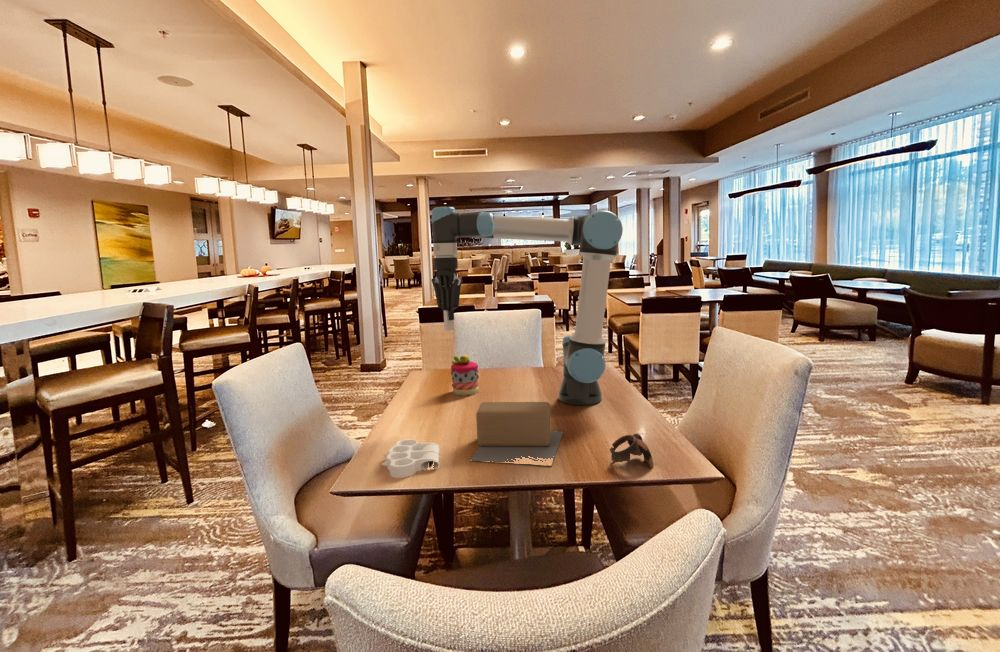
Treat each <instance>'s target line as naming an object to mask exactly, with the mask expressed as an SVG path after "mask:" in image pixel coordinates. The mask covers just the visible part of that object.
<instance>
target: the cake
mask: <svg viewBox="0 0 1000 652" xmlns="http://www.w3.org/2000/svg"><path fill="white" fill-rule="evenodd" d="M453 360H454V361H451V365H450V370H451V371H450V374H451V382H452V384H451V387H452V394H453V395H455V396H459V395H463V396H462V397H465V396H466V395H469V396H473V395H472V394H474V395H477V394H479V385H480V380H479V378H480V377H479V375H478V374H479V365H478V363H477V362H475V361H470V357H469V355H466V354H464V355H461V356H460V357H459V356H457V355H454V356H453ZM476 393H477V394H476Z"/></svg>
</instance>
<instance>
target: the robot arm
mask: <svg viewBox="0 0 1000 652" xmlns="http://www.w3.org/2000/svg"><path fill="white" fill-rule="evenodd" d="M430 224H431V232H432V246H433V247H432V248H433V251H432V252H433V256H434V259H433V268H434V270H436V273H435V275H436V276H435V277H434V278H431V284H432V285H433V289H434V293H435V299H436V304H437V308H438V309H439V308H440V309H441V310H442V317H443V318H442V319H443V324H444V325H443V326H444V331H445V332H446V331H447V332H449V331H454V330H455V327H454V326H455V325H454V323H455V322H454V321H455V311H454V310H456V309H458V308H459V305H460V297H461V296H460V295H461V287H462V285H463V282H464V281H463V278H459V277H458V273H457V271H456V270H457V269H458V267H459V266H458V265H459V264H458V243H457V242H458V241H457V238H474V239H500V240H501V239H503V240H522V241H523V240H524V241H525V240H526V241H545V242H563V243H564V242H566V243H568V245H570V246H579V252H578V253H579V255H580V256H581V257H582V268H581V278H580V286H579V293H578V302H577V310H576V311H577V313H576V320H575V326H574V327H575V328H574V333H573V334H572V335H566V336H564V337H563V339H562V345H561V346H562V362H563V363H562V366H563V367H562V368H563V369H562V370H563V371H562V372H563V378H562V381H561V385H560V388H559V391H558V400H559V401H560V402H561V403H564V404H568V405H574V406H575V405H576V406H588V405H589V406H590V405H595V404H598V403H600V402H601V401H602V400H603V394H602V390H601V388H600V383H599V381H598V380H599V379H600V378H601V377H602V376H603V375H604V372H605V371H606V359H605V350H606V342H607V341H606V340H605V339H604V337H603V336H602V335H603V328H604V320H605V312H606V303H607V295H608V288H609V280H610V279H609V278H610V272H611V263H612V261H613V260H614V259H615V258H617V254H618V248H619V242H620V240H621V239H622V236H623V231H624V230H623V229H624V228H623V224H622V221H621V219H620V218H619V217H618V215H616V213H614V212H612V211H610V210H604V209H603V210H600V209H599V210H595V211H592V212H591V213H589V214H586V215H571V216H570V217H569V218H556V217H555V218H554V217H553V218H552V217H528V216H527V217H526V216H524V217H523V216H522V217H521V216H503V215H502V216H501V215H500V216H499V215H494V214H493V213H492V212H489V211H488V212H486V211H479V212H464V213H463V212H462V213H461V212H460V213H458V212H456V208H455V207H454V206H437V207H434V208H432V210H431V223H430ZM456 256H457V257H456Z"/></svg>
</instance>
